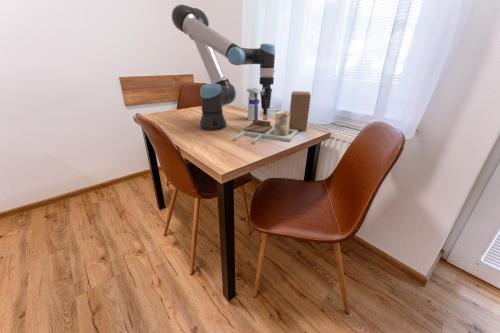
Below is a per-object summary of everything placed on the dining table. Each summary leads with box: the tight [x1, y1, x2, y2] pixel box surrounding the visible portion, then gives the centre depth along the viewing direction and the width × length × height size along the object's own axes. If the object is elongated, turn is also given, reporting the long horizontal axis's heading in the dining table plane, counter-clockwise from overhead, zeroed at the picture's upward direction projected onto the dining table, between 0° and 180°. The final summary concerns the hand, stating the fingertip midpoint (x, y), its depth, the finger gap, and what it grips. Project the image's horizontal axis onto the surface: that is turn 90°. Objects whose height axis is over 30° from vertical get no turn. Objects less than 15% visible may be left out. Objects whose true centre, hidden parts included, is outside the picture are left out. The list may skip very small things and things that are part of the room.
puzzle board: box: [233, 126, 299, 145], centre depth 114 cm, size 27×26×2 cm
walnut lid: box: [243, 119, 273, 133], centre depth 119 cm, size 12×12×3 cm
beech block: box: [273, 110, 290, 137], centre depth 113 cm, size 6×6×12 cm
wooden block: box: [289, 90, 311, 132], centre depth 123 cm, size 10×10×20 cm
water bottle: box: [246, 80, 261, 121], centre depth 141 cm, size 8×9×25 cm
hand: (265, 119), depth 128 cm, fingers closed
